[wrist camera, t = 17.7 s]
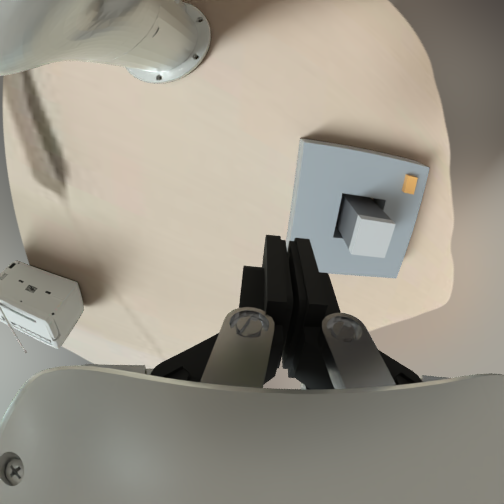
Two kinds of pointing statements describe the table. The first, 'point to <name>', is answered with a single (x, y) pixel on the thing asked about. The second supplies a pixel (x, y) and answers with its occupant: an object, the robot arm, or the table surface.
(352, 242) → the plug
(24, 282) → the stereo radio cassette player
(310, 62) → the table surface
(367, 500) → the robot arm
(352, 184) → the socket
